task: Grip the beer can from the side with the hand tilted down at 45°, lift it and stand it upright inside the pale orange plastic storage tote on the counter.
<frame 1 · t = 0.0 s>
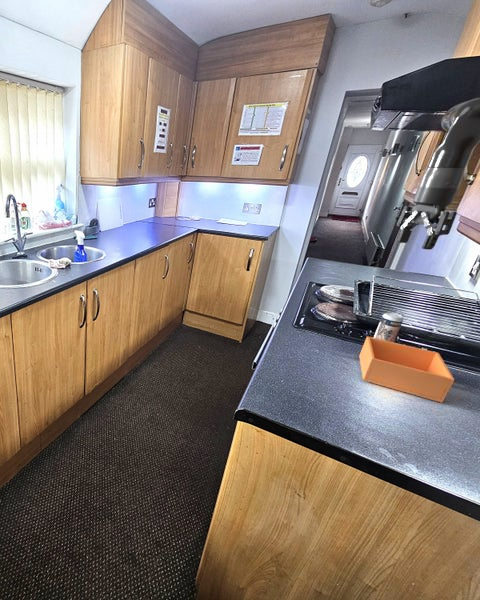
hand: (413, 245, 93), 33 cm above the worktop, tool pointing down, fingers open, 8 cm apart
beer can: (379, 349, 103), on the worktop
tote: (396, 376, 89), on the worktop
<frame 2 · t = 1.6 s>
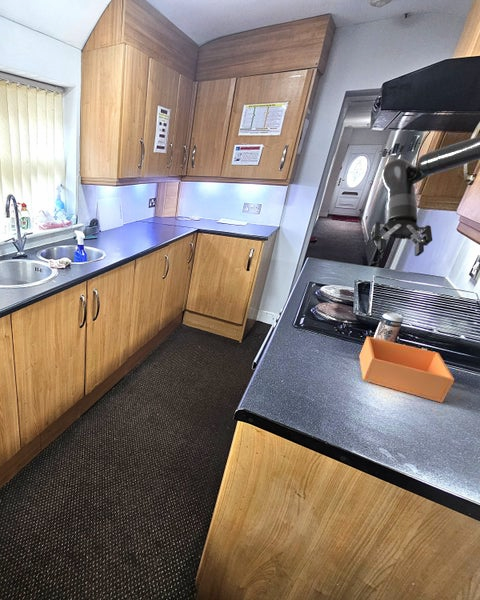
hand: (400, 252, 102), 29 cm above the worktop, tool tilted 45°, fingers open, 8 cm apart
nothing on the worktop moved.
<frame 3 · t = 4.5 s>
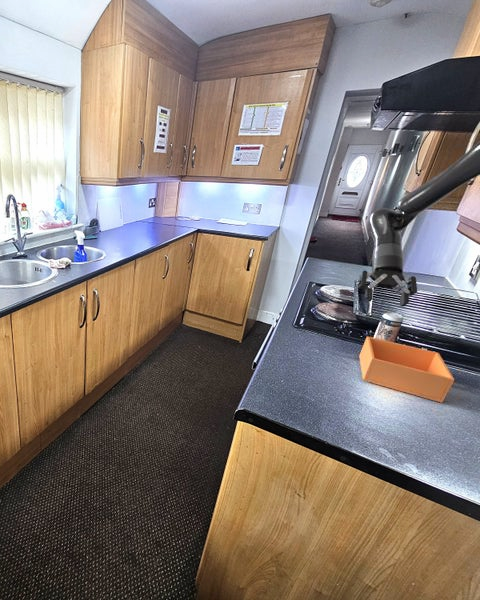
hand: (386, 302, 105), 13 cm above the worktop, tool tilted 45°, fingers open, 8 cm apart
nothing on the worktop moved.
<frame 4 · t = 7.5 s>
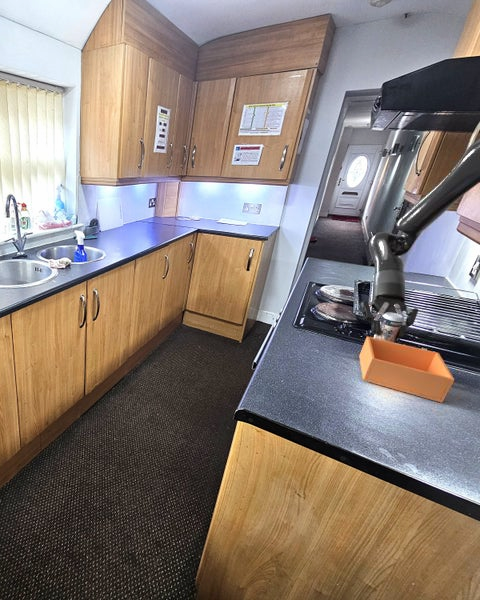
hand: (387, 335, 100), 6 cm above the worktop, tool tilted 45°, fingers closed on beer can, 4 cm apart
beer can: (379, 349, 103), on the worktop, touching gripper
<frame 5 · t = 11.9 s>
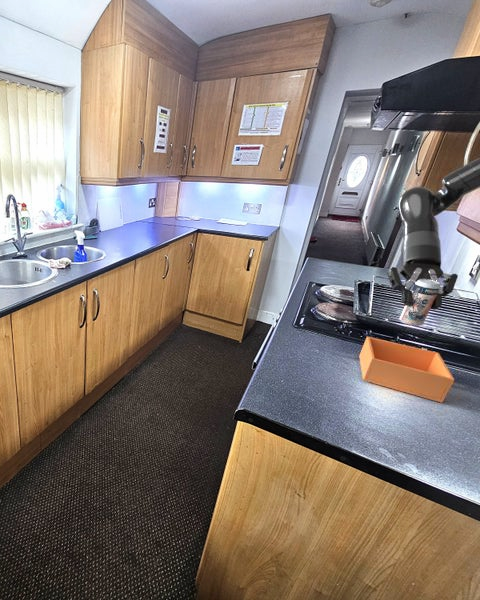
hand: (421, 306, 85), 20 cm above the worktop, tool tilted 45°, fingers closed on beer can, 4 cm apart
beer can: (410, 323, 89), point 14 cm above the worktop, touching gripper
when the fingers open (6 cm above the worktop, at t = 16.7 s): beer can stays where it is, resting on tote.
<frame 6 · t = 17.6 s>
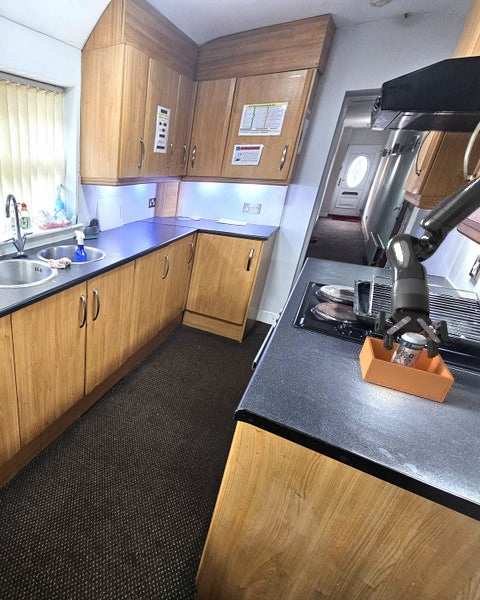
hand: (410, 353, 85), 8 cm above the worktop, tool tilted 45°, fingers open, 8 cm apart
beer can: (397, 374, 89), point 1 cm above the worktop, touching tote
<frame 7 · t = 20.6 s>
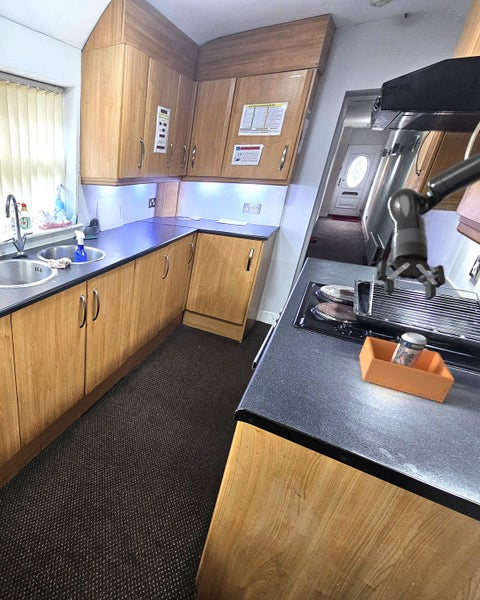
hand: (409, 295, 92), 20 cm above the worktop, tool tilted 45°, fingers open, 8 cm apart
nothing on the worktop moved.
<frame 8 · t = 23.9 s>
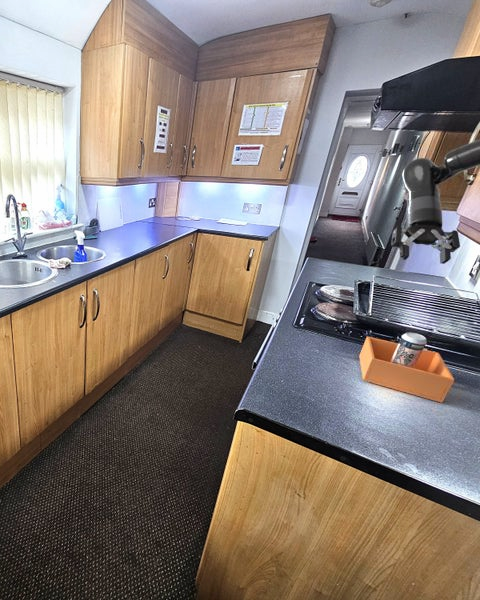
hand: (424, 260, 94), 29 cm above the worktop, tool tilted 45°, fingers open, 8 cm apart
nothing on the worktop moved.
at the end: beer can inside the target area in the tote (0.1 cm from its centre), point 0.7 cm above the tote's base; beer can tilted 2°; the gripper is holding nothing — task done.
